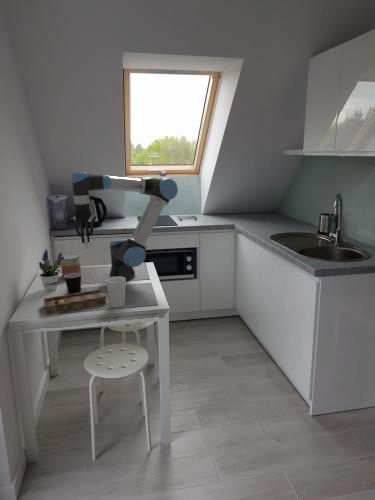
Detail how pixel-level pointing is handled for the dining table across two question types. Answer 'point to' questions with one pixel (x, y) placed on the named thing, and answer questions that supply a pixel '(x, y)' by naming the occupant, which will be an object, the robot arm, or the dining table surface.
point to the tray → (74, 301)
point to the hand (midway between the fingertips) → (86, 248)
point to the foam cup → (116, 290)
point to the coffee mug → (73, 282)
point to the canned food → (70, 264)
